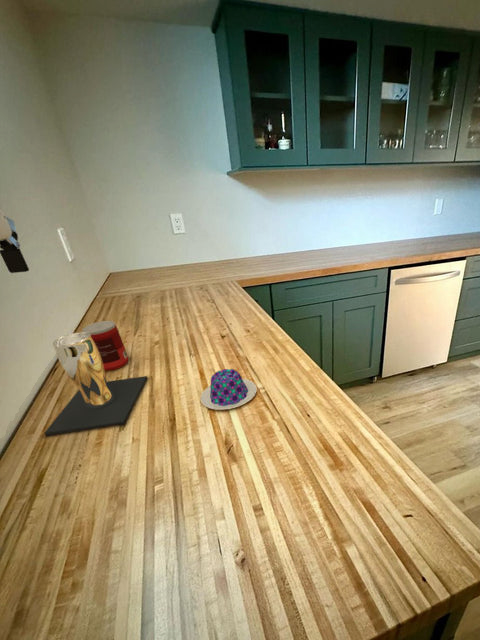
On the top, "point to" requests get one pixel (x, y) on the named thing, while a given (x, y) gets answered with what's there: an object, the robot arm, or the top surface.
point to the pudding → (228, 390)
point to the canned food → (108, 344)
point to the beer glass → (85, 368)
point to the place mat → (110, 415)
